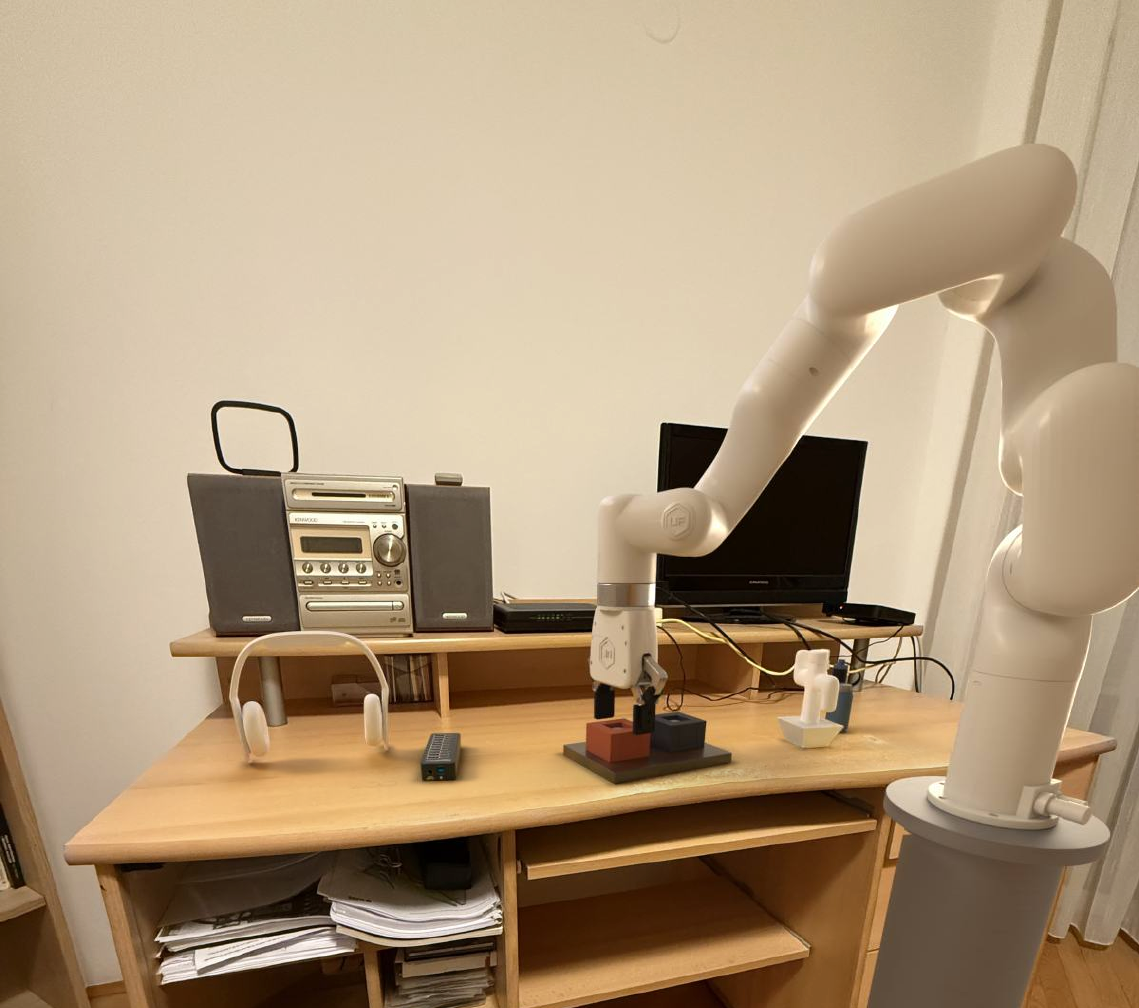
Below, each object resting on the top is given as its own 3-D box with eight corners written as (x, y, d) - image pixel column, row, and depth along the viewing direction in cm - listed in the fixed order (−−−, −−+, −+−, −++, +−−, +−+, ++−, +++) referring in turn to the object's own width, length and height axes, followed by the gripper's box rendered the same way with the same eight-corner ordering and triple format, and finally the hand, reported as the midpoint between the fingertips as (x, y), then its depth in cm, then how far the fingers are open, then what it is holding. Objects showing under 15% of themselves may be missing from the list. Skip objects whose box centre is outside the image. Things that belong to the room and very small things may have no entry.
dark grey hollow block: (704, 747, 88) (706, 720, 87) (669, 753, 85) (671, 725, 84) (676, 736, 94) (678, 711, 92) (642, 741, 91) (644, 715, 89)
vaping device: (834, 725, 108) (845, 658, 104) (849, 733, 103) (861, 663, 99) (821, 725, 108) (831, 658, 104) (835, 733, 103) (846, 663, 99)
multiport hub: (461, 747, 91) (460, 732, 91) (456, 779, 78) (455, 763, 77) (431, 747, 91) (430, 733, 90) (421, 780, 77) (420, 763, 76)
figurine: (804, 753, 91) (819, 654, 87) (769, 736, 100) (781, 645, 95) (845, 750, 93) (861, 653, 88) (807, 734, 102) (820, 645, 97)
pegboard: (731, 762, 86) (734, 729, 85) (614, 784, 77) (616, 747, 76) (670, 738, 98) (672, 708, 96) (563, 754, 89) (563, 721, 87)
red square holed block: (649, 756, 84) (650, 728, 82) (609, 762, 81) (611, 734, 79) (623, 744, 89) (624, 718, 88) (585, 749, 86) (586, 722, 85)
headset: (237, 774, 78) (214, 636, 73) (244, 758, 84) (223, 629, 79) (395, 760, 85) (385, 632, 79) (391, 746, 91) (381, 626, 86)
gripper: (568, 596, 84) (569, 716, 89) (640, 601, 69) (636, 744, 74) (614, 595, 87) (612, 710, 92) (691, 600, 73) (684, 736, 78)
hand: (622, 725), depth 83 cm, fingers open, 9 cm apart
